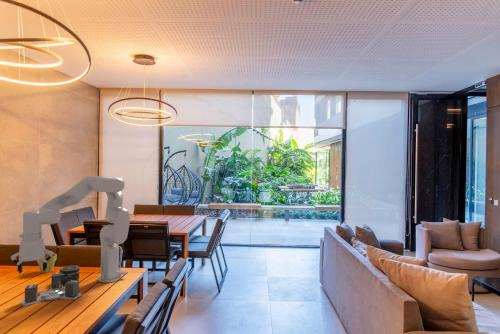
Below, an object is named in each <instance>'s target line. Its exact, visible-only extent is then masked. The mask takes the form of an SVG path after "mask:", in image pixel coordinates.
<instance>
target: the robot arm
mask: <svg viewBox="0 0 500 334" xmlns="http://www.w3.org/2000/svg"><path fill="white" fill-rule="evenodd" d="M124 189H125V181H124V180H123V178H121V177H114V176H99V175H87V176H85V177H84V178H82V179H81V180H80V181H79V182H77V183H76V184H74V185H73V186H72V187H71V188H69V189H68V190H66V191H65V192H63V193H61V194H59V195H57V196H55V197H53V198H52V199H50V200H49V201H48V202H46V203H45V204H43V205H42V206H41V207H40V208H39V209H38V210H37V209H35V210H34V209H33V210H27V211H24V212H23V214H22V234H19V237H18V238H21V240H20V242H19V243H20V244H19V250H18V252H16V253H14V254H13V255H11V256H10V259H11V260H12V262H13V263H14V264H16V265H17V272H18V274H22V273H23V262H31V261H37V260H42V261H44V262H43V271H45V269H46V268H47V261H48V260H49V259H50V258H51V257H52V255H53V253H54V252H53V251H52V250H48V249H46V246H45V239H44V237H43V236H42V235H43V233H42V232H43V230H42V229H43V227H42V225H55V224H57V223H59V222H60V221H61V219H62V214H61V212H60V211H61V210H63V209H65V208H68V207H70V206H71V207H72V206H76V205H77V204H79V203H81V202H82V201H83V200H84V199H85V198H86V197H88V196H89V195H90V194H92V193H93V192H99V193H105V194H106V196H107V201H106V203H107V204H106V208H105V214H104V217H105V221H107V222H108V223H110V224H107V225H105V226H103V227H102V228H101V229H100V232H99V240H100V250H101V251H100V275H99V276H98V277H97V282H99V283H105V284H106V283H113V282H117V281H119V280H121V278H122V276H126V275H127V271H125V270H120V269H119V259H120V258H119V257H120V256H119V255H120V253H119V252H120V251H119V250H120V248H119V245H120V244H121V245H122V244H123V243H124V242H125V241H126V240H127V239H128V234H129V229H130V223H131V213H130V212H129V210H128V209H126V208H124V207H123V204H124V195H123V192H122V191H123V190H124ZM45 254H49V256H48V257H47V258H46V257H45ZM54 254H55V253H54ZM17 257H18V259H17Z"/></svg>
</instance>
